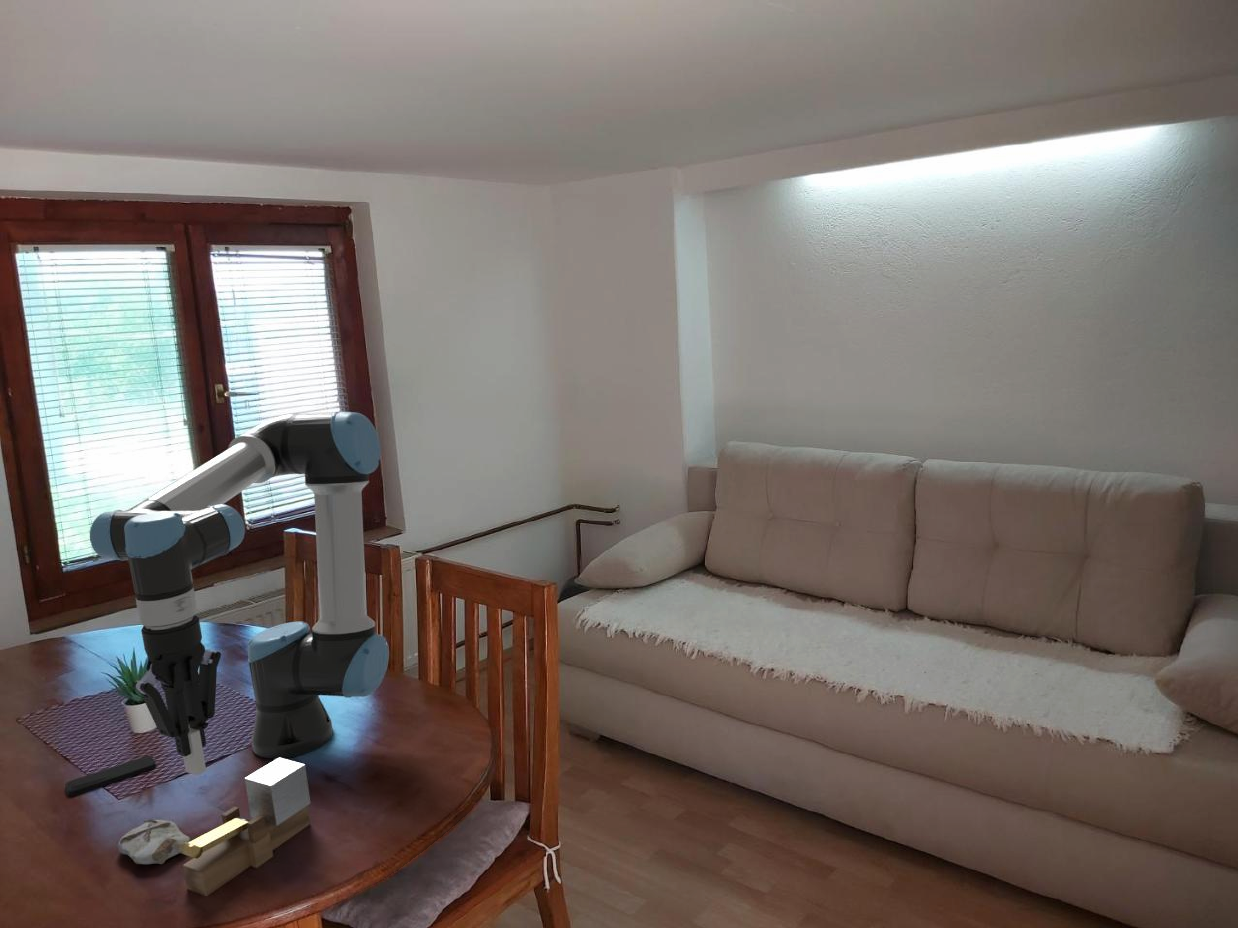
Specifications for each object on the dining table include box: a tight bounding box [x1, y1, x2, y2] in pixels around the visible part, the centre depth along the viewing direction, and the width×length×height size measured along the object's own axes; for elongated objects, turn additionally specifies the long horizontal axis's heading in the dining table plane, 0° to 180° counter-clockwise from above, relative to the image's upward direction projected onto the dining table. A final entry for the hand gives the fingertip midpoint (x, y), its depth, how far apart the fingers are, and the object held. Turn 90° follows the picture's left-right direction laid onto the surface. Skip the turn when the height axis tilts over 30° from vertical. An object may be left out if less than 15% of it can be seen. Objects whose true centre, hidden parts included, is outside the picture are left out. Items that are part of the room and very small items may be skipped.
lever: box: [179, 816, 250, 859], centre depth 140 cm, size 4×2×11 cm
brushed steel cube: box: [244, 757, 311, 826], centre depth 150 cm, size 6×7×7 cm
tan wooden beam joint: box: [182, 805, 311, 898], centre depth 145 cm, size 7×20×7 cm, turn 151°
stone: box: [117, 818, 191, 865], centre depth 149 cm, size 12×9×3 cm
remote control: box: [65, 755, 157, 797], centre depth 173 cm, size 5×2×15 cm
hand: (195, 770), depth 136 cm, fingers closed
